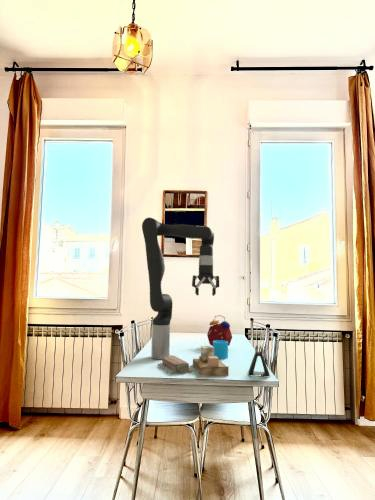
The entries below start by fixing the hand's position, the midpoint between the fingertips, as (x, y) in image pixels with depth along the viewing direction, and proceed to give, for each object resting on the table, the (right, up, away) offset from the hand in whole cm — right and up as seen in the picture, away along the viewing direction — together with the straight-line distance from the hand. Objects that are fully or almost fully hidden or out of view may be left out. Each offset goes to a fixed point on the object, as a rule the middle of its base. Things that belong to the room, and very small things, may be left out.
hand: (205, 295), depth 175 cm
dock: (+1, -31, -21) cm, 38 cm away
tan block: (0, -29, -17) cm, 33 cm away
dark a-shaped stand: (+22, -31, -27) cm, 47 cm away
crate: (+2, -28, -27) cm, 39 cm away
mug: (+9, -34, +7) cm, 36 cm away
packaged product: (-15, -32, -20) cm, 40 cm away
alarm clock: (+9, -36, +27) cm, 46 cm away
